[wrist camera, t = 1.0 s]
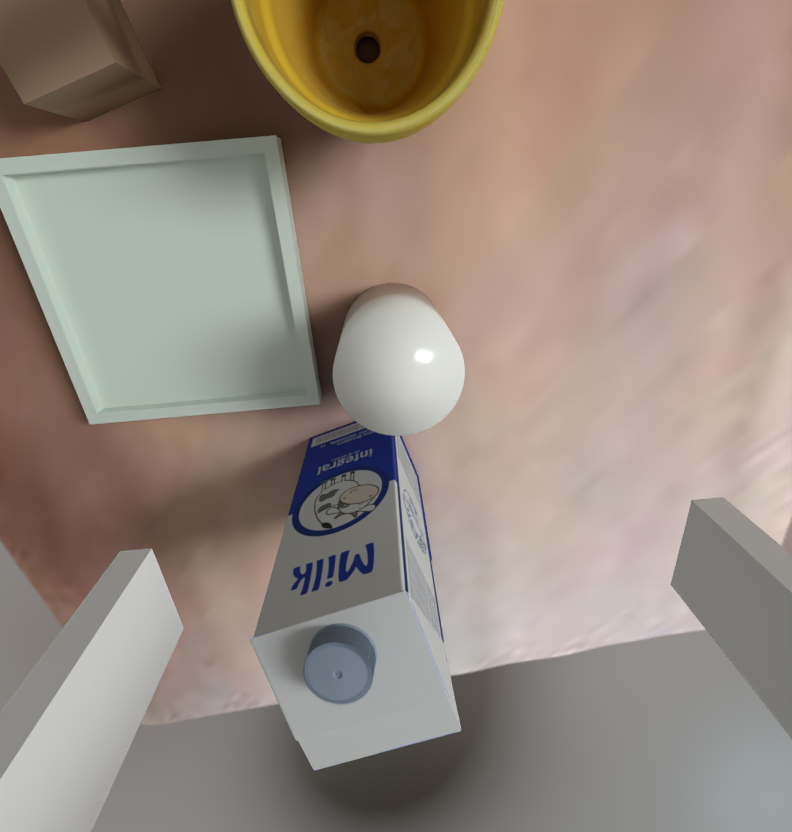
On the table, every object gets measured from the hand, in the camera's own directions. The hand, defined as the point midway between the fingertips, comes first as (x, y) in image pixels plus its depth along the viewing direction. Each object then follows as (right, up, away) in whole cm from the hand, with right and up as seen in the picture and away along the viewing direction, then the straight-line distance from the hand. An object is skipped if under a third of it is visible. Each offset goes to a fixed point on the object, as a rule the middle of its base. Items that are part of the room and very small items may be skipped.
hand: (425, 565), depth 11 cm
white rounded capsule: (-1, +10, +21) cm, 23 cm away
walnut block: (-17, +24, +13) cm, 32 cm away
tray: (-15, +12, +19) cm, 27 cm away
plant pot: (-2, +24, +14) cm, 28 cm away
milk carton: (-3, 0, +25) cm, 25 cm away
